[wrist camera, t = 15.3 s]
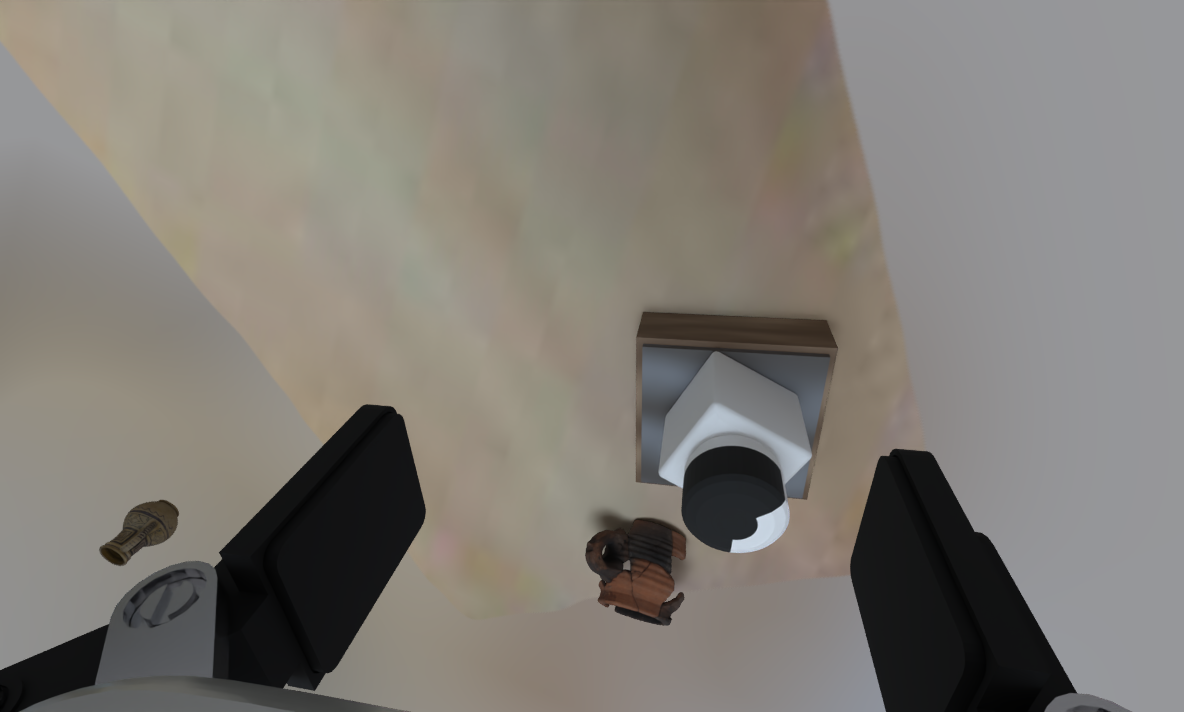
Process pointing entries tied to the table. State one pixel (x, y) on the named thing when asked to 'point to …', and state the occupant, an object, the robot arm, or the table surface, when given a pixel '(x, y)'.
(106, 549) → the brown patterned vase
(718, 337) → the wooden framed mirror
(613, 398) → the table surface
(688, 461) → the medicine bottle
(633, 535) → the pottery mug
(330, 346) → the table surface
